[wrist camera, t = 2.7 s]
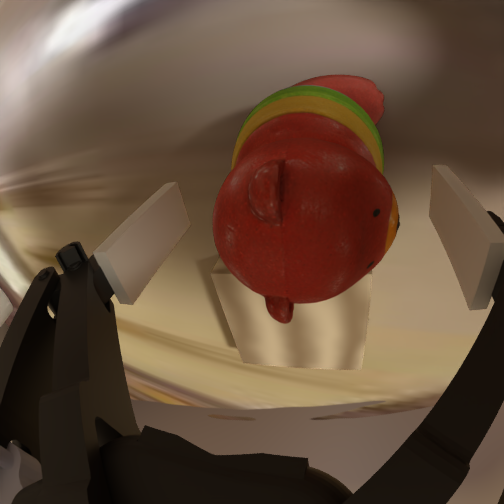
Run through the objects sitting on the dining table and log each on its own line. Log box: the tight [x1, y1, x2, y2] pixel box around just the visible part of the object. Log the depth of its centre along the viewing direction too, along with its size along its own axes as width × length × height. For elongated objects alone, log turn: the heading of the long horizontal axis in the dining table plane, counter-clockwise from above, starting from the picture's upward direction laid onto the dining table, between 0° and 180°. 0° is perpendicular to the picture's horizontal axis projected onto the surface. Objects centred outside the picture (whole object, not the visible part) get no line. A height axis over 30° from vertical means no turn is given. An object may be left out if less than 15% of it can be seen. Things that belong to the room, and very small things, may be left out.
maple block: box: [210, 257, 372, 370], centre depth 34 cm, size 16×16×4 cm
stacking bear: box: [213, 75, 400, 324], centre depth 16 cm, size 11×10×18 cm
